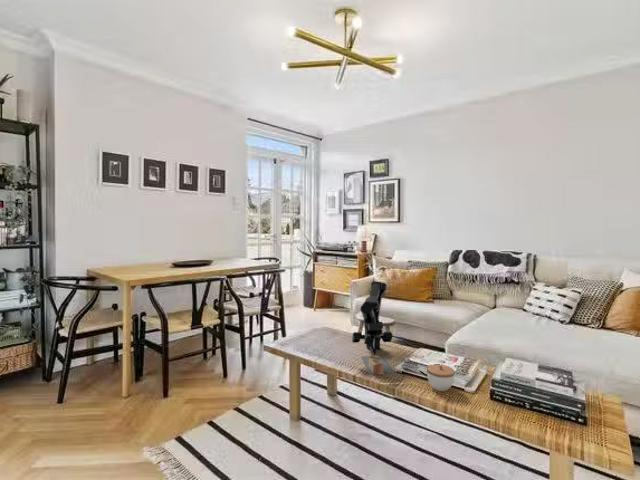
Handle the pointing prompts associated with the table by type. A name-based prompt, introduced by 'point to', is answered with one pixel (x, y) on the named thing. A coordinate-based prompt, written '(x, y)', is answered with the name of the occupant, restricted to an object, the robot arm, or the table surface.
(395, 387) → the table surface
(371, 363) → the tan long rectangular block
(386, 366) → the rubber mat
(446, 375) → the lidded jar
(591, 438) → the table surface
